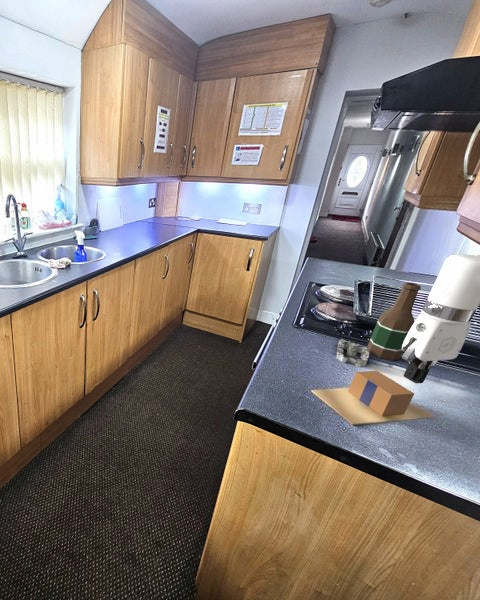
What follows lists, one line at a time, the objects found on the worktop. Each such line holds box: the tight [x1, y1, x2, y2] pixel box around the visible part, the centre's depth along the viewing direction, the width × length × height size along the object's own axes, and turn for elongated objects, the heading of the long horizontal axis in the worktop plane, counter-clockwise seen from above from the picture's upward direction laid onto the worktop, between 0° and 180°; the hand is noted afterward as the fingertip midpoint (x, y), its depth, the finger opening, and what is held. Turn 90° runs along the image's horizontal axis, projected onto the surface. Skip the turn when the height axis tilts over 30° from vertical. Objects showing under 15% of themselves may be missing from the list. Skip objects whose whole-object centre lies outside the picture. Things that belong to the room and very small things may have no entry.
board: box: [310, 387, 438, 426], centre depth 80 cm, size 22×12×1 cm, turn 97°
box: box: [348, 370, 415, 416], centre depth 79 cm, size 6×9×6 cm
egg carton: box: [335, 338, 370, 368], centre depth 98 cm, size 11×8×4 cm
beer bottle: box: [366, 282, 422, 362], centre depth 96 cm, size 8×8×24 cm
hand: (412, 379), depth 79 cm, fingers closed
